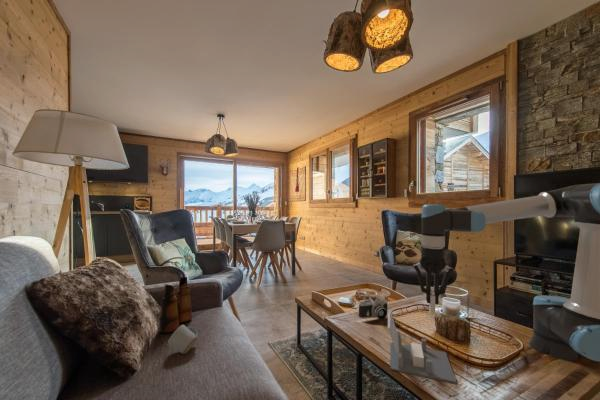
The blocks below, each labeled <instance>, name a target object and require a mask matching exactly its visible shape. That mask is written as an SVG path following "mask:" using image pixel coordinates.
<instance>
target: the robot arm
mask: <svg viewBox="0 0 600 400" xmlns="http://www.w3.org/2000/svg"><path fill="white" fill-rule="evenodd" d="M535 217H537V218H538V217H545V218H550V219H551V218H557V217H558V218H559V217H560V218H562V217H565V218H574V222H573V223H574V224H575V225H576V226H577V227H578V228H579V233H578V234H579V236H578V243H577V251H576V256H575V257H576V258H575V265H574V271H573V278H572V283H571V284H572V286H571V293H570V298H565V297H560V296H554V295H553V296H552V295H546V294H545V295H543V294H541V295H535V296H534V297H533V302H532V307H533V309H532V311H533V312H532V313H533V314H532V316H533V318H532V319H533V321H532V323H533V325H532V327H533V328H532V329H533V330H532V332H533V333H532V335H531V337H530V339H529V341H528V345H529V346H530V348H531V349H533V350H535V351H536V352H538V353H541V354H547V355H548V356H550V357H552V358H553V359H559V360H564V361H574V362H575V361H579V359H580V358H583V356H584V357H585V358H587V359H589V360H591V361H595V362H599V363H600V182H597V183H596V182H594V183H581V184H580V183H579V184H574V185H569V186H566V187H561V188H558V189H557V188H556V189H553V190H547V191H542V192H540V193H539V194H538V195H532V196H527V197H526V196H525V197H520V198H515V199H509V200H508V199H507V200H501V201H495V202H494V201H493V202H489V203H481V204H476V205H470V206H469V205H468V206H463V207H456V208H446V205H444V204H434V203H433V204H431V203H429V204H424V205H423V206H422V207H421V216H420V218H421V249H420V250H421V252H420V259H419V262H418V263H413V265H412V266H413V268H414V270H415V271H416V275H417V279H418V282H419V287H420V290H421V293H424V294H425V296H426V297H425V298H426V299H425V301H426V303H427V304H429V305H428V306H429V308H428V309H429V310H428V311H429V314H432V315H436V305H439V299H440V298H439V296H440V295H445V293H446V290H447V287H448V283H449V280H450V276H451V274H452V273H454V269H453V268H452V267H451V266H449V265H447V262H446V259H445V256H446V255H445V253H446V251H445V247H446V241H445V240H446V234H445V233H446V232H464V233H481V232H483V231H485V228H486V224H491V223H497V222H498V223H500V222H507V221H512V220H513V221H514V220H515V221H516V220H522V219H528V218H535ZM421 267H422V268H421ZM421 269H424V271H425V275H426V276H425V277H426V278H425V279H426V281H425V284H426V285H425V284H424V281H423V276H422V272H421ZM443 270H444V273H443V278H442V280H441V283H440V273H441V272H442V271H443ZM432 274H433V292H432V289H431V288H432Z"/></svg>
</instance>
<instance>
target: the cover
mask: <svg viewBox="0 0 600 400" xmlns="http://www.w3.org/2000/svg"><path fill="white" fill-rule="evenodd" d="M387 330H388V332H389V335H390V338H391V342H392V343H393V344H394V347H395V350H396V352H397V354H398V353H399V339H398V332H397V331H398V330H397V327H396V324H395V322H394V318H393V316H392V313H391V311H387Z"/></svg>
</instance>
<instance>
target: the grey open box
mask: <svg viewBox="0 0 600 400" xmlns="http://www.w3.org/2000/svg"><path fill="white" fill-rule="evenodd" d="M397 332H398V339H399V353H398V354H397V352H396V350H395V347H394V344H393V342H392V341H391V342H390V348H389V349H390V370H391V371H393V372H400V373H405V374H408V375H412V376H413V375H414V376H418V377H419V376H420V377H423V378H428V379H433V380H438V381H442V382H447V383H452V384H457V380H456V376H455V373H454V371H453V369H452V366H451V363H450V361H449V358H448V355H447V353H446V351H443V350H442V351H440V350H435V349H430V348H429V349H428V348H427V339H426V338H421V347H422V352H423V356H424V368H422V367H417V366H413V361H412V354H411V345H408V344H403V341H402V335H401V331H400V330H397Z"/></svg>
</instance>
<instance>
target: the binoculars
mask: <svg viewBox="0 0 600 400" xmlns="http://www.w3.org/2000/svg"><path fill="white" fill-rule="evenodd" d="M177 287H178V289H177V291H175V287H174V286H173V285H171V284H165V285H164V294H163V297H162V299H161V309H160V316H159V327H158V331H159V332H160V333H162V334H163V333H171V332H175V331H176V330H177V329H178V328H179V327H180V323H184V322H187V321H189V320H191V319H192V318H193V313H192V311H193V310H192V302H191V300H192V299H191V290H190V288H189V285H188V277H187V276H181V278H180V279H179V281H178V286H177Z"/></svg>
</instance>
